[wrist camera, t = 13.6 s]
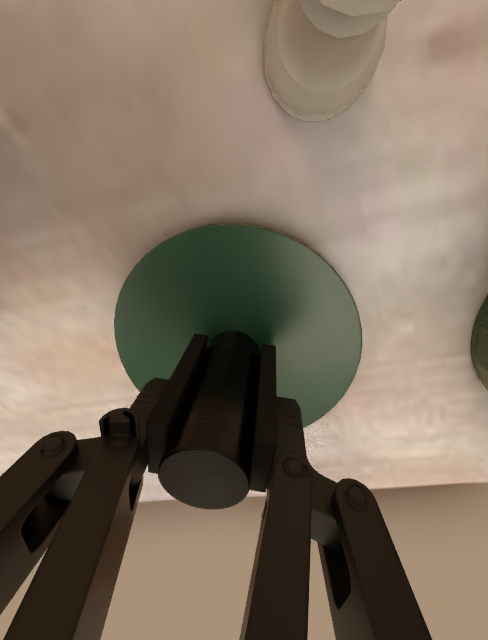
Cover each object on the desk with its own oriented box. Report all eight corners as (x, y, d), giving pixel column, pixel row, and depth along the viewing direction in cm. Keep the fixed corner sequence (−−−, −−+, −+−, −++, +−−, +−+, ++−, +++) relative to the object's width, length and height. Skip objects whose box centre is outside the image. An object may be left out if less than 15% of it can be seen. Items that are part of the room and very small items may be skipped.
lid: (131, 410, 21) (39, 554, 13) (113, 203, 14) (-100, 223, 6) (322, 441, 20) (356, 612, 12) (393, 242, 14) (569, 320, 6)
